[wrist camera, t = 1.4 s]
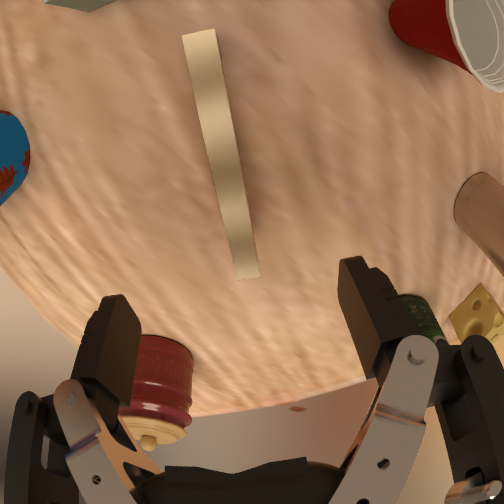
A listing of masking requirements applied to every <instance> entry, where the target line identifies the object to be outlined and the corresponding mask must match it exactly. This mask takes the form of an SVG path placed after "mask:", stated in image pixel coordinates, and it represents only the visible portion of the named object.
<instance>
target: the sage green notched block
mask: <svg viewBox="0 0 504 504" xmlns="http://www.w3.org/2000/svg"><path fill="white" fill-rule="evenodd" d="M113 1H116V0H44V4H50V5H57V6H62V7H68V8H73V9H77V10H82V11H86V12H90V11H93V10H95V9H97V8H99V7H101V6H104V5H106V4H108V3H111V2H113Z"/></svg>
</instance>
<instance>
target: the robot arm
mask: <svg viewBox="0 0 504 504" xmlns="http://www.w3.org/2000/svg"><path fill="white" fill-rule="evenodd" d="M454 216H455V220H456V222H457V224H458V225H459V226H460V227H461V228H462V229H463V230H464V231H465V232H466V233H467V235H468V236H469V237H470V238H471V239H472V240H473V241H474V242H475V243H476V244H477V246H478V247H479V248H480V249H481V250H482V251H483V252H484V254H485V255H486V256H487V257H488V258H489V259H490V261H491V262H492V263H493V264H494V265H495V267H496V268H497V269H498V270H499V271H500V273H501V274H502V275H503V277H504V186H503V185H502V184H501V183H499V182H498V181H497V180H495V179H494V178H493V177H491V176H490V175H488V174H487V173H478V174H476V175H474V176H473V177H471V178H470V179H469V180H468V181H467V182H466V183H465V184H464V186H463V187H462V189H461V191H460V192H459V194H458V197H457V199H456V203H455V208H454ZM338 299H339V303H340V306H341V309H342V312H343V314H344V317H345V320H346V322H347V325H348V328H349V330H350V333H351V336H352V339H353V342H354V344H355V347H356V350H357V353H358V356H359V359H360V361H361V364H362V367H363V370H364V373H365V376H366V379H367V380H368V379H371V378H375V377H376V379H377V382H378V385H379V386H378V388H377V391H376V393H375V396H374V398H373V401H372V403H371V405H370V408H369V410H368V412H367V414H366V417H365V419H364V421H363V423H362V426H361V428H360V430H359V432H358V434H357V436H356V438H355V440H354V441H353V443H352V445H351V447H350V448H349V450H348V453H347V454H346V456H345V458H344V460H343V462H342V464H341V465H340V467H339V468H338V467H335V466H332V465H329V464H325V463H321V462H312V461H307V459H306V457H301V458H296V459H289V460H283V461H276V462H269V463H266V464H263V465H261V466H258V467H255V468H252V469H249V470H245V471H243V472H239V473H235V474H229V473H224V472H219V471H214V470H209V469H204V468H200V467H181V466H179V467H178V466H165V472H161V470H160V469H159V468H158V467H157V466H156V465H155V463H154V462H153V461H152V460H150V459H149V458H148V457H147V456H146V455H145V454H144V453H143V451H142V450H141V448H140V447H139V445H138V444H137V442H136V441H135V439H134V437H133V436H132V434H131V433H130V431H129V429H128V428H127V426H126V424H125V423H124V421H123V419H122V417H121V416H120V415H119V414H118V412H119V407H127V408H130V402H131V395H132V388H133V381H134V374H135V368H136V362H137V356H138V350H139V345H140V339H141V333H142V330H141V324H140V321H139V319H138V317H137V316H136V314H135V312H134V311H133V309H132V308H131V306H130V304H129V303H128V301H127V300H126V298H125V296H124V295H122V294H118V295H111V296H105V297H103V298H102V300H101V303H100V306H99V309H98V311H95V312H94V313H93V315H92V316H91V318H90V319H89V320H88V322H87V325H86V328H85V331H84V335H83V337H82V340H81V344H80V347H79V350H78V353H77V357H76V360H75V364H74V367H73V371H72V374H71V378H70V379H68V380H65V381H63V382H62V383H61V384H60V385H59V386H58V387H57V388H56V390H55V393H54V394H52V395H49V396H46V397H42V398H39V397H38V396H37V395H36V394H35V393H33V392H31V391H27V392H25V393H23V394H22V395H21V396H20V397H19V399H18V400H17V403H16V406H15V411H14V416H13V421H12V427H11V432H10V438H9V446H8V452H7V461H6V471H5V487H4V504H79V490H80V492H81V494H82V496H83V497H84V499H85V501H86V503H87V504H395V503H396V501H397V499H398V497H399V495H400V492H401V491H402V488H403V486H404V484H405V482H406V480H407V477H408V475H409V473H410V470H411V468H412V466H413V463H414V461H415V458H416V456H417V453H418V450H419V448H420V445H421V442H422V439H423V436H424V433H425V428H426V423H425V422H424V415H425V411H426V408H427V405H428V403H434V405H435V409H436V412H437V415H438V418H439V422H440V425H441V429H442V433H443V436H444V440H445V444H446V448H447V452H448V456H449V461H450V465H451V469H452V475H453V480H454V485H453V486H452V487H451V488H450V489H449V491H448V493H447V494H446V497H445V502H444V504H504V369H503V366H502V364H501V362H500V359H499V357H498V355H497V353H496V351H495V349H494V347H493V345H492V343H491V342H490V341H489V340H488V339H487V338H485V337H484V336H481V335H477V334H475V335H470V336H468V337H467V338H466V339H465V340H464V341H463V342H462V344H461V345H436V344H434V343H433V342H432V341H431V340H430V339H428V338H426V337H424V336H421V335H420V334H419V332H418V331H417V329H416V327H415V325H414V323H413V321H412V319H411V317H410V315H409V314H408V312H407V310H406V308H405V306H404V304H403V302H402V301H401V299H400V298H399V295H398V293H397V292H396V290H395V289H394V286H393V285H392V283H391V281H390V279H389V278H388V276H387V275H386V274H385V273H383V272H382V271H381V270H380V269H378V268H377V267H375V268H370V269H369V267H368V266H367V264H366V262H365V260H364V259H363V257H362V256H355V257H350V258H344V259H341V260H340V263H339V277H338ZM43 436H45V437H47V438H48V439H50V444H49V453H48V465H47V469H46V470H45V469H44V468H43V466H42V464H41V452H42V444H43Z"/></svg>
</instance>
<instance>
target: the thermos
mask: <svg viewBox="0 0 504 504" xmlns="http://www.w3.org/2000/svg"><path fill="white" fill-rule="evenodd" d="M29 163H30V146H29V142H28V139H27V135H26V132H25V130H24V128H23V126H22V125H21V123H20V121H19V120H18V119H17V118H16V117H15V116H13V115H12V114H11V113H10V112H7V111H1V110H0V206H1V205H2V204H3V203H4V202H5V201H6V200H7V199H8V198H9V197H10V195H11V194H12V193H13V192H14V191H15V190H16V189H17V188H18V187H19V186H20V185H21V184H22V182H23V180H24V179H25V177H26V175H27V173H28V168H29Z"/></svg>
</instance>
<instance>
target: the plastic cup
mask: <svg viewBox="0 0 504 504" xmlns="http://www.w3.org/2000/svg"><path fill="white" fill-rule="evenodd" d="M389 19H390V23H391V25H392V28H393V30H394V32H395V33H396V34H397V36H398V37H399V38H400V39H401V40H403V41H404V42H405V43H407V44H408V45H410V46H412V47H415V48H418V49H421V50H424V51H425V52H427V53H430V54H432V55H435V56H437V57H440V58H442V59H445V60H447V61H449V62H451V63H454V64H456V65H458V66H460V67H461V68H462V69H464V70H466V71H468V72H469V73H470V74H472V75H473V76H474V77H475V78H476V79H477V80H478V81H479V82H480V84H481V85H483V86H484V87H485V88H488V89H490V90H493V91H495V92H497V93H501V92H504V0H396V1H394V3H393V4H392V5H391V8H390V10H389Z"/></svg>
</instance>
